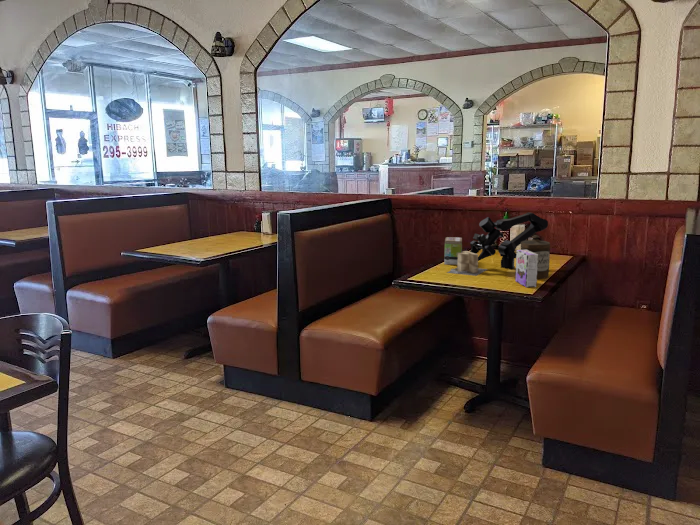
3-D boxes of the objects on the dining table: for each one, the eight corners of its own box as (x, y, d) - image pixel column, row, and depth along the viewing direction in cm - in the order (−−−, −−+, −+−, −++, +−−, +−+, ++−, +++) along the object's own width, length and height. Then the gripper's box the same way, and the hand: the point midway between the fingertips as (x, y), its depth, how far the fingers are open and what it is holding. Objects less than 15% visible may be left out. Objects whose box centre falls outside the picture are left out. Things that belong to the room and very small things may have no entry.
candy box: (514, 281, 284) (516, 249, 281) (525, 280, 284) (527, 249, 281) (525, 287, 270) (526, 254, 267) (537, 287, 271) (538, 254, 268)
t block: (466, 268, 314) (466, 250, 312) (477, 272, 303) (478, 254, 301) (453, 269, 312) (454, 251, 310) (464, 273, 301) (465, 255, 299)
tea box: (461, 265, 325) (461, 240, 322) (444, 265, 327) (444, 240, 324) (461, 260, 339) (462, 236, 336) (444, 260, 341) (445, 236, 338)
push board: (487, 270, 311) (487, 267, 310) (476, 276, 295) (476, 273, 295) (458, 267, 320) (458, 264, 319) (446, 273, 304) (446, 270, 304)
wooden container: (528, 280, 286) (530, 237, 281) (514, 274, 300) (515, 233, 296) (554, 278, 289) (556, 236, 285) (538, 272, 303) (540, 232, 299)
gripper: (473, 226, 314) (455, 246, 313) (491, 230, 297) (472, 252, 296) (485, 239, 318) (467, 259, 317) (503, 244, 301) (485, 265, 300)
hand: (472, 258), depth 307 cm, fingers open, 9 cm apart
